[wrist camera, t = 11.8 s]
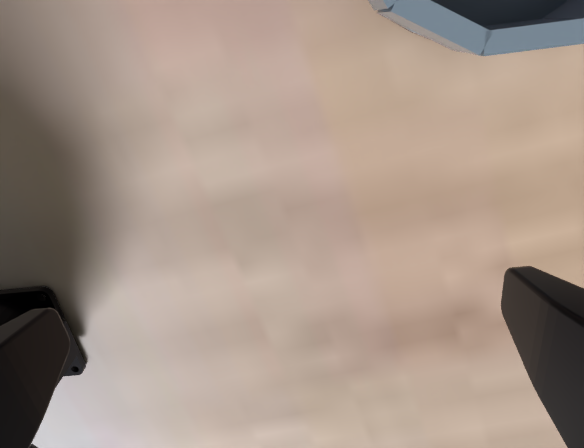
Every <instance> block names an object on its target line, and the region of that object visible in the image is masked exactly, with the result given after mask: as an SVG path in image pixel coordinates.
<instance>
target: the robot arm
mask: <svg viewBox="0 0 584 448" xmlns="http://www.w3.org/2000/svg"><path fill="white" fill-rule="evenodd" d="M42 295H44V296H45V297H44V296H42ZM501 310H502V314H503V317H504V319H505V322H506V324H507V326H508V329H509V331H510V333H511V336H512V338H513V340H514V343H515V345H516V347H517V350H518V352H519V354H520V357H521V359H522V361H523V364H524V366H525V369H526V371H527V373H528V376H529V378H530V380H531V382H532V384H533V386H534V388H535V390H536V392H537V394H538V396H539V398H540V400H541V401H542V403H543V405H544V407H545V408H546V410H547V412H548V414H549V415H550V417H551V419H552V421H553V423H554V424H555V426H556V428H557V430H558V431H559V433H560V435H561V437H562V438H563V440H564V442H565V444H566V446H567V447H568V448H584V288H581V287H579V286H576V285H574V284H572V283H569V282H567V281H565V280H562V279H560V278H558V277H555V276H553V275H550V274H548V273H546V272H543V271H541V270H539V269H536V268H534V267H531V266H523V267H512V268H509V269H507V270H506V272H505V275H504V283H503V291H502V299H501ZM85 368H86V364H85V362H84V359H83V357H82V355H81V353H80V350H79V348H78V346H77V344H76V342H75V339H74V337H73V335H72V333H71V330H70V328H69V326H68V324H67V322H66V319H65V317H64V315H63V313H62V310H61V308H60V306H59V304H58V302H57V299H56V297H55V295H54V293H53V291H52V290H51V289H49V288H47V287H32V288H21V289H10V290H0V448H38V447H36V446H35V445H33V444H31V443H32V441H33V439H34V437H35V435H36V433H37V431H38V429H39V427H40V424H41V422H42V420H43V418H44V415H45V413H46V410H47V408H48V405H49V403H50V400H51V397H52V395H53V392H54V390H55V388H56V386H57V385H58V383H59V382H60V380H61V379H62V377H63V376H72V375H80V374H82V373H83V371H84V369H85Z"/></svg>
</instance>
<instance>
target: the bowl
mask: <svg viewBox="0 0 584 448" xmlns="http://www.w3.org/2000/svg"><path fill="white" fill-rule="evenodd" d="M368 1H369V3H370V4H371V6H372V8H373V9H374V10H378V11H377V13H378V14H380V15H382V16H384V17H386V18H388V19H390V20H391V21H393V22H394V23H396V24H398V25H400V26H401V27H403V28H405V29H406V30H408V31H410V32H412V33H415V34H417V35H420V36H422V37H425V38H427V39H431V40H433V41H435V42H437V43H439V44H441V45H443V46H445V47H447V48H449V49H451V50H454V51H459V52H464V53H469V54H474V55H479V56H489V55H497V54H505V53H513V52H521V51H529V50H537V49H545V48H553V47H561V46H569V45H577V44H584V0H368Z"/></svg>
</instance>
